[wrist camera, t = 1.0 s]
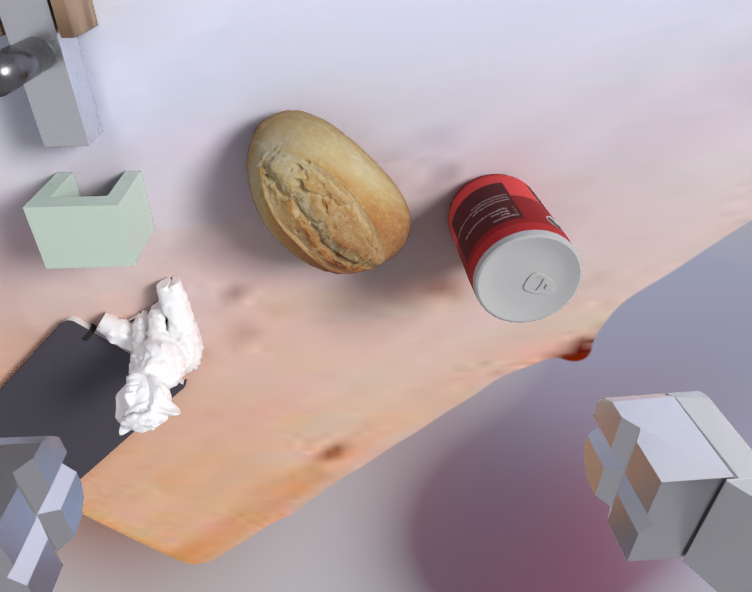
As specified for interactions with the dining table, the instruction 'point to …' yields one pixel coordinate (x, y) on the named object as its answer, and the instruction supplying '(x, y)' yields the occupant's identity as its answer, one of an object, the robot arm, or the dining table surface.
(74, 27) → the open wooden box
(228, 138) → the dining table surface
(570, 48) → the dining table surface
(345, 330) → the dining table surface
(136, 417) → the sitting furry creature
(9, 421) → the notebook
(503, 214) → the canned food
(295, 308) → the dining table surface
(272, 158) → the bread roll
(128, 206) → the pale green block
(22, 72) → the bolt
